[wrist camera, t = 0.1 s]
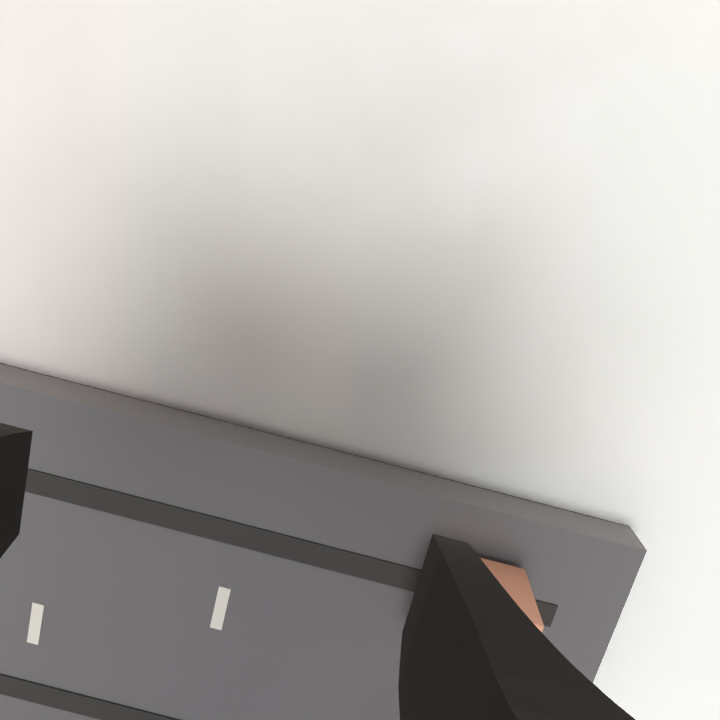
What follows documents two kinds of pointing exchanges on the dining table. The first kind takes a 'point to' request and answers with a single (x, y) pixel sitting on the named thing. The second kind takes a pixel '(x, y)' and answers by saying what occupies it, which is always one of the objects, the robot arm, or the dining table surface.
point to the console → (248, 566)
